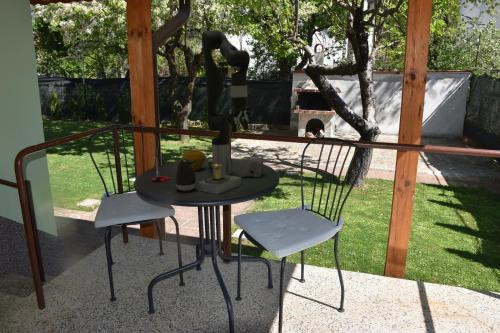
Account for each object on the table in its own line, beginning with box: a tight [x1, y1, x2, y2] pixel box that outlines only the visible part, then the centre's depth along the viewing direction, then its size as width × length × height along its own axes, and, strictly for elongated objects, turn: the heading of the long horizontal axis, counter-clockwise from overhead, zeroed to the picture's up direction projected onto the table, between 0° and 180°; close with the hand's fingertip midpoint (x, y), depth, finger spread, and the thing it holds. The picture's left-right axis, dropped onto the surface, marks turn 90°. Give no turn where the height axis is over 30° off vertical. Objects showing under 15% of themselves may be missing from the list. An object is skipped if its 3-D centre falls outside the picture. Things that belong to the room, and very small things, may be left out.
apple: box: [182, 149, 207, 172], centre depth 237 cm, size 13×13×11 cm
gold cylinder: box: [211, 163, 222, 181], centre depth 197 cm, size 5×5×12 cm
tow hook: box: [151, 157, 170, 183], centre depth 216 cm, size 8×13×9 cm
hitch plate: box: [197, 174, 242, 195], centre depth 200 cm, size 18×12×5 cm, turn 144°
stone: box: [238, 156, 265, 178], centre depth 221 cm, size 13×12×10 cm
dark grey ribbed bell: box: [174, 158, 197, 192], centre depth 196 cm, size 10×10×15 cm
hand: (240, 131), depth 191 cm, fingers open, 8 cm apart
